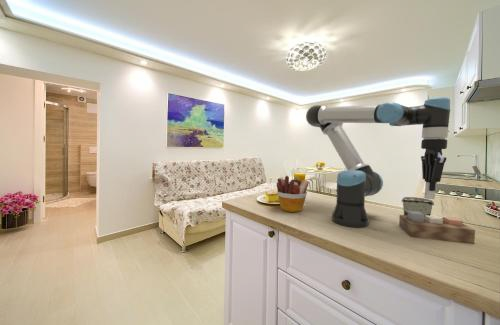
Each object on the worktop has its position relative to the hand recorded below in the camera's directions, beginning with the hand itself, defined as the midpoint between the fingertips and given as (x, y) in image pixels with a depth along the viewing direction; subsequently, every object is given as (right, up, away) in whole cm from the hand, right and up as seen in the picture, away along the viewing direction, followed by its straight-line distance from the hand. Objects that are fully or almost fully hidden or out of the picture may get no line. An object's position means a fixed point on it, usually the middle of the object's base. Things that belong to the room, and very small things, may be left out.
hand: (429, 198), depth 82 cm
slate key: (-4, -10, +2) cm, 11 cm away
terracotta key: (+7, -12, -2) cm, 14 cm away
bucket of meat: (-49, -12, +33) cm, 60 cm away
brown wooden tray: (+1, -14, 0) cm, 14 cm away
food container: (+9, -13, +19) cm, 24 cm away
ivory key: (+1, -12, 0) cm, 12 cm away
